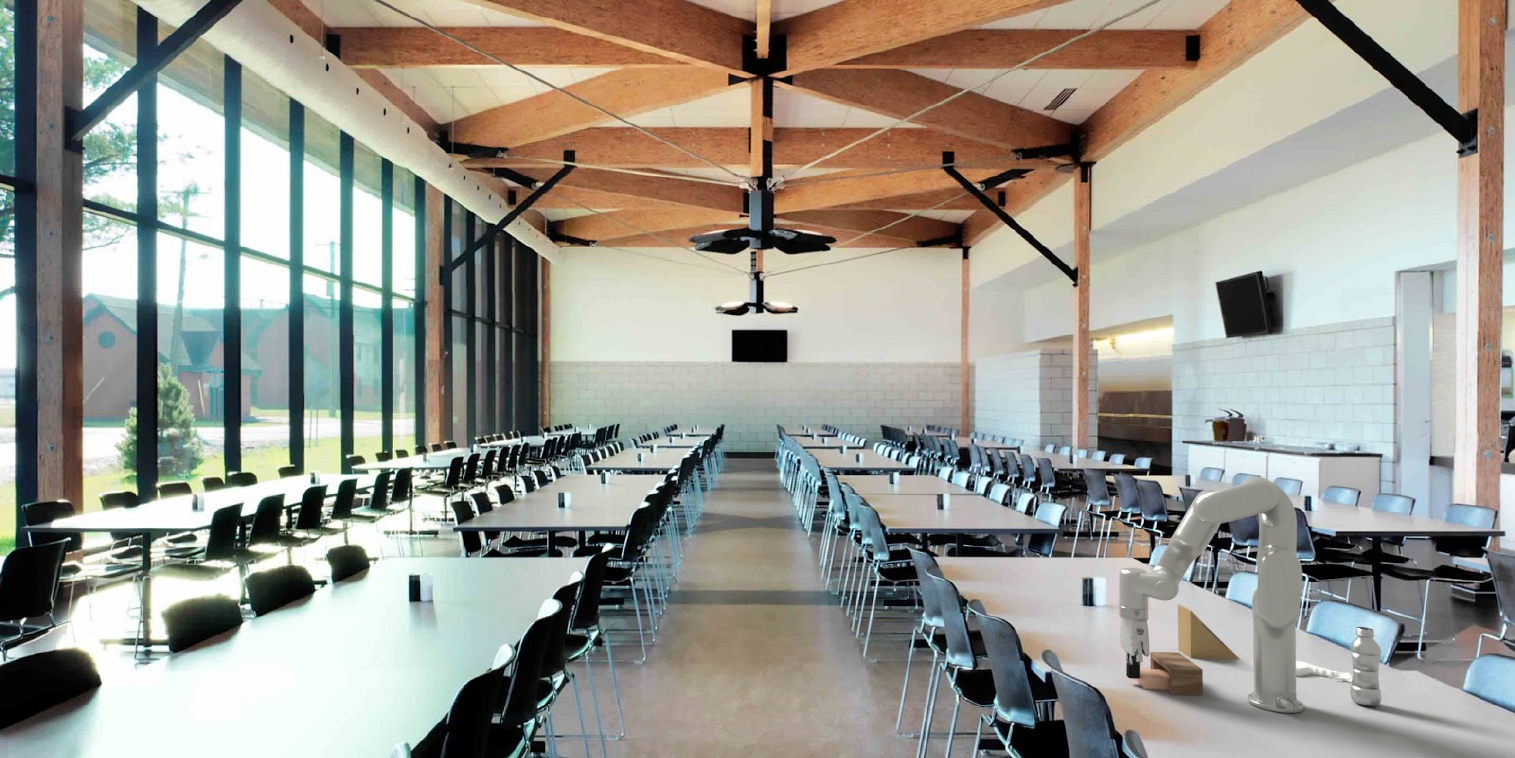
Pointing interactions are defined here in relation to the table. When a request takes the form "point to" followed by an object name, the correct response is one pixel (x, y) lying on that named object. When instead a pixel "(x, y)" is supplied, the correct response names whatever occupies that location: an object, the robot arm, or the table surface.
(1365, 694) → the plastic bottle
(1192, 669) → the wooden bridge block
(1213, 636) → the sandwich container
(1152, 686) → the peach flat block
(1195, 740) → the table surface
